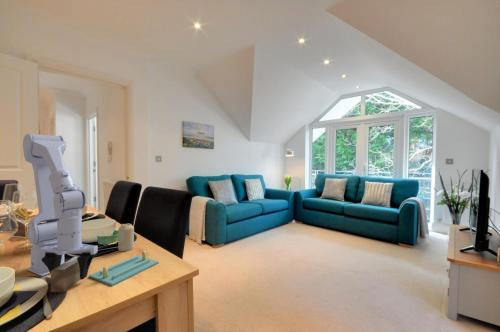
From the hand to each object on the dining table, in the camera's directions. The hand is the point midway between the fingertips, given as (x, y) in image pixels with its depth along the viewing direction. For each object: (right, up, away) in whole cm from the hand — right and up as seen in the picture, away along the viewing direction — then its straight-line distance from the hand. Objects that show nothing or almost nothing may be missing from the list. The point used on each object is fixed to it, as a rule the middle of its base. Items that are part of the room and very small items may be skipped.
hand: (70, 278), depth 70 cm
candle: (+3, -1, +26) cm, 27 cm away
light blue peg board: (+12, -1, +9) cm, 15 cm away
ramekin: (-8, -1, +33) cm, 33 cm away
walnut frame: (0, -2, 0) cm, 2 cm away
